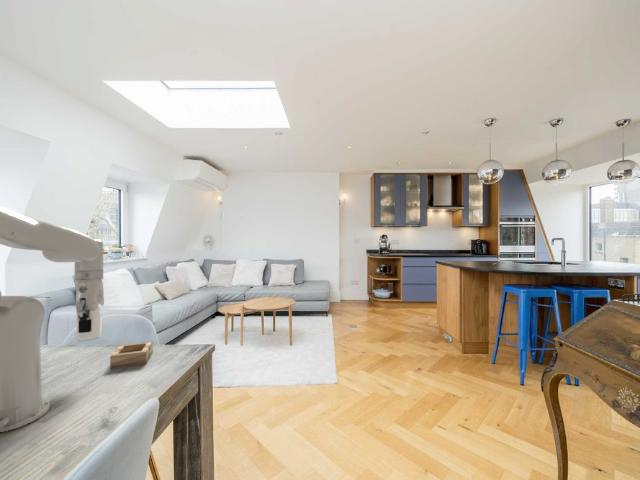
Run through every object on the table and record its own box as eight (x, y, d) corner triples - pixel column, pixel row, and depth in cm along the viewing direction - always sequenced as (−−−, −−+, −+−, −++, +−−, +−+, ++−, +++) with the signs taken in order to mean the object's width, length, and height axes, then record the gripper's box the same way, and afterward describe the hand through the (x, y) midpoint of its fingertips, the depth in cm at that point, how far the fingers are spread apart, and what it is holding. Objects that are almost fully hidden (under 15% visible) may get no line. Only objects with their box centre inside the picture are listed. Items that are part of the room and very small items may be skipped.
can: (106, 335, 98) (106, 300, 98) (89, 342, 91) (89, 304, 91) (89, 334, 98) (89, 300, 99) (71, 341, 92) (71, 304, 92)
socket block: (146, 363, 104) (146, 351, 104) (110, 369, 100) (110, 356, 100) (152, 352, 114) (152, 341, 114) (120, 356, 110) (120, 345, 110)
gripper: (92, 278, 88) (92, 335, 88) (111, 272, 105) (111, 321, 105) (62, 279, 86) (62, 338, 86) (86, 273, 102) (86, 323, 102)
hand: (89, 328), depth 95 cm, fingers closed on can, 6 cm apart
